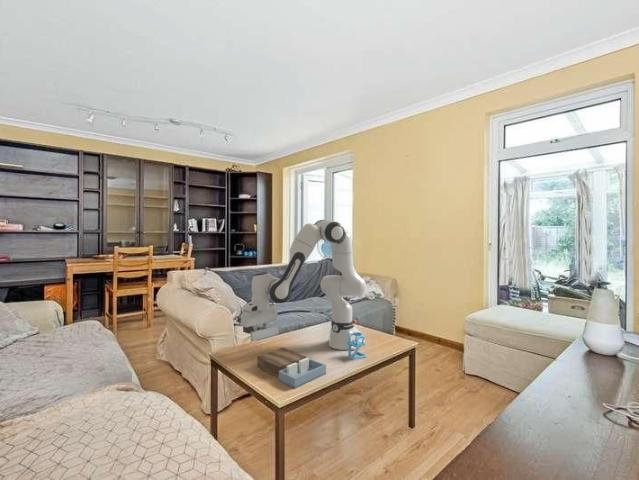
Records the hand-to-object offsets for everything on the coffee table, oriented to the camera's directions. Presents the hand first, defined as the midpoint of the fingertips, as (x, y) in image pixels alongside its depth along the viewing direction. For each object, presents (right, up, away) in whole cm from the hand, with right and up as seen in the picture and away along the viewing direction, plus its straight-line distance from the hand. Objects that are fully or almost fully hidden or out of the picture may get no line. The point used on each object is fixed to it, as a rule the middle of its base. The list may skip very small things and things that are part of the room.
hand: (259, 332), depth 159 cm
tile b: (+17, -10, -21) cm, 29 cm away
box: (+23, -14, -20) cm, 33 cm away
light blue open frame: (+48, -14, +4) cm, 50 cm away
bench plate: (+12, -13, -11) cm, 21 cm away
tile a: (+22, -10, -15) cm, 29 cm away
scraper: (-3, -2, +3) cm, 5 cm away
